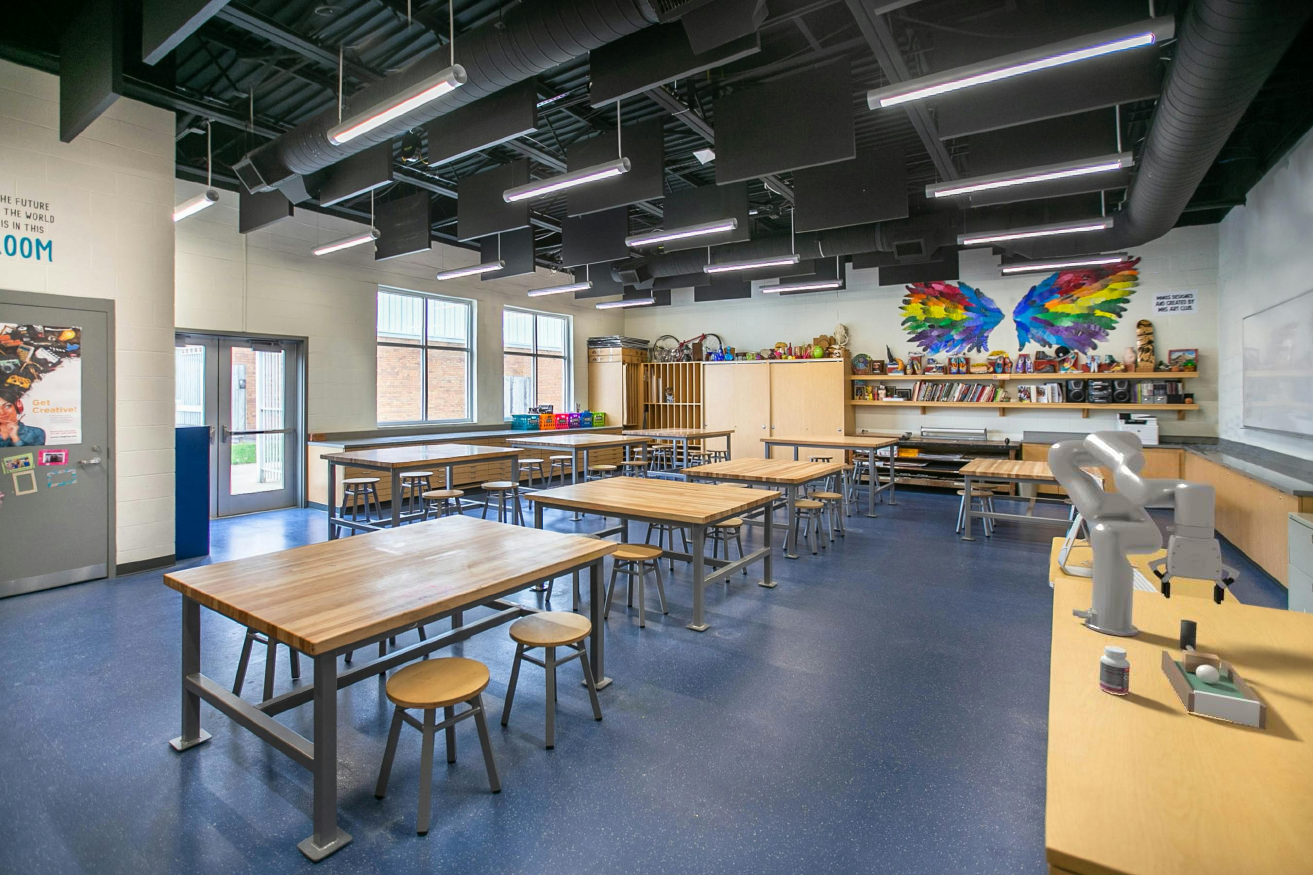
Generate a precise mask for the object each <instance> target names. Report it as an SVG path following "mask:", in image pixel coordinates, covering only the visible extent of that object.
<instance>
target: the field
mask: <svg viewBox="0 0 1313 875" xmlns="http://www.w3.org/2000/svg"><path fill="white" fill-rule="evenodd" d="M1160 667H1161V670H1162V672H1163V671H1164V672H1163V674H1164V673H1165V674H1166V675H1165V674H1164V675H1165V677H1166V676H1167V677H1166V679H1167V678H1168V679H1169V681H1170V682H1169V681H1168V682H1169V684H1170V683H1171V684H1170V685H1172V686H1173V688H1174V689H1173V688H1172V689H1173V691H1174V690H1175V691H1176V693H1177V694H1178V696H1179V698H1180V699H1181V701H1182V703H1183V704H1184V706H1185V707H1186V709H1187V711H1189V712H1196V713H1199V714H1204V715H1208V716H1212V717H1216V718H1221V719H1225V720H1229V721H1232V722H1236V723H1235V724H1237V723H1240V724H1239V725H1242V724H1246V725H1245V726H1247V725H1250V726H1249V727H1252V726H1254V727H1253V728H1257V727H1259V728H1258V729H1262V728H1263V729H1262V730H1266V727H1267V708H1268V707H1267V706H1266V704H1265V703H1264V702H1263V701H1262V700H1261V699H1260V698H1259V696H1257V694H1256V693H1255V692H1254V691H1253V690H1252V689H1251V687H1250V686H1249V685H1248V684H1247V682H1246V681H1245V680H1244V679H1243V677H1241V676H1240V673H1238V672H1237V671H1236V670H1235V669H1234V667H1233V666H1232V665H1231V664H1230V662H1228V661H1227V660H1223V659H1220V669H1219V675H1220V678H1219V681H1218V682H1216V683H1214V684H1208V683H1204V682H1202V681H1201V680H1200V679H1199V678H1198V677H1197V675H1196V673H1195V672H1189V671H1185V670H1184V668H1183V667H1182V660H1181V661H1180V660H1174V659H1173V658H1172V656H1171V655H1170V654H1169V652H1168V651H1167V650H1161V666H1160ZM1168 679H1167V680H1168ZM1172 686H1171V687H1172ZM1175 691H1174V692H1175ZM1176 693H1175V694H1176ZM1177 694H1176V695H1177ZM1178 696H1177V697H1178ZM1179 698H1178V699H1179ZM1181 701H1180V702H1181ZM1182 703H1181V704H1182Z"/></svg>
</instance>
